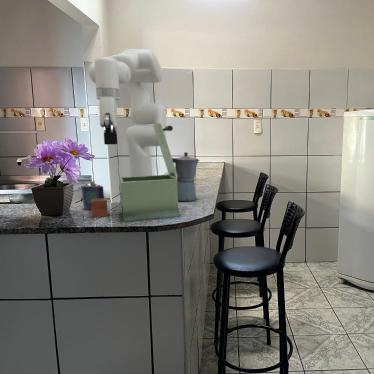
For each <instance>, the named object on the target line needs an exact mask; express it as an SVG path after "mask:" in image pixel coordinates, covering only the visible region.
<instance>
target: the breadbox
mask: <svg viewBox="0 0 374 374" xmlns="http://www.w3.org/2000/svg"><path fill="white" fill-rule="evenodd" d="M119 193H120V207H121V215H122V219H123V222H125V223H126V222H134V221H146V220H155V219H157V220H158V219H167V218H175V217H180V214H179V201H178V191H177V178H175V177H173V176H171V175H169V174H156V175H153V174H152V176H135V177H131V176H122V177H121V176H119Z"/></svg>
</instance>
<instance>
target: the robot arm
mask: <svg viewBox="0 0 374 374" xmlns="http://www.w3.org/2000/svg"><path fill="white" fill-rule="evenodd" d="M88 76H89V78H90V81H92V82H93V83H95V93H96V100H99V103H98V105H99V106H98V108H99V126H100V127H101V128H102V129H103V142H104V143H103V144H104V145H107V146H108V145H118V133H117V128H118V105H117V101H119V100H120V99H121V97H120V84H121V85H122V84H126V85H127V87H128V90H129V92H130V119H131V122H132V123H133V124H136V125H131V126H129V127H127V129H126V130H125V139H126V143H127V147H128V157H129V172H130V177H135V176H153V169H152V168H153V167H152V156H151V154H150V152H149V151H148V150H147V147H160V146H159V142H158V139H157V136H156V133H155V130H154V127H153V125H154V124H159V123H161V125H162V129H164V128H165V127H166V126H167V112H166V107H165V106H164V105H163V104H161V103H160V102H159V103H158V102H151V94H150V92H149V90H148V89H147V88H146V87H145V86H144V85H142V84H157V83H160V82H161V81H162V79H163V69H162V67H161V65H160V62H159V59H158V57H157V55H156V54H155V52H154V51H153V50H152V49H150V48H127V49H124V50H123V51H122V52H120V53H117V54H113V55H109V56H98V57H96V58H95V59H94V61H92V62H91V63H90V64H89V67H88ZM163 132H164V135H165V138H166V139H167V131H163Z"/></svg>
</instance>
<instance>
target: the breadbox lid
mask: <svg viewBox="0 0 374 374" xmlns="http://www.w3.org/2000/svg"><path fill="white" fill-rule="evenodd" d="M152 125H153V127H154V130H155V133H156V136H157V139H158V142H159V146H158V147H159V149H160V151H161V155H162V158H163V160H164V161H163V162H164V163H165V167H166V170H167V173H168V175H169V174H170V175H172V176H173V177H174V178H176V179H177V177H178V176H177V172H176V167H175V163H173V160H172V158H173V157H172V154H171V151H170V148H169V147H170V146H169V145H168V142H167V137H166V138H165V135H164V132H163V131H166V132H171V131H173V125H166V127H165V128H164V129H162V125H161V123H159V124H152Z"/></svg>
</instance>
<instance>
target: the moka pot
mask: <svg viewBox="0 0 374 374" xmlns="http://www.w3.org/2000/svg"><path fill="white" fill-rule="evenodd" d="M183 155H184V156H180V157H172V160H173V163H174V166H175V169H176V172H177V176H178V177H177V178H176V179H177V191H178V202H179V201H180V202H190V201H191V202H193V201H196V199H197V194H196V186H195V185H196V184H195V178H196V172H197V166H198V163H199V162H200V159H199V158H197V157H196V158H195V157H190V156H188V155H189V154H188V152H184V153H183ZM168 175H170V174H169V173H168ZM171 176H172V175H171Z"/></svg>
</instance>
